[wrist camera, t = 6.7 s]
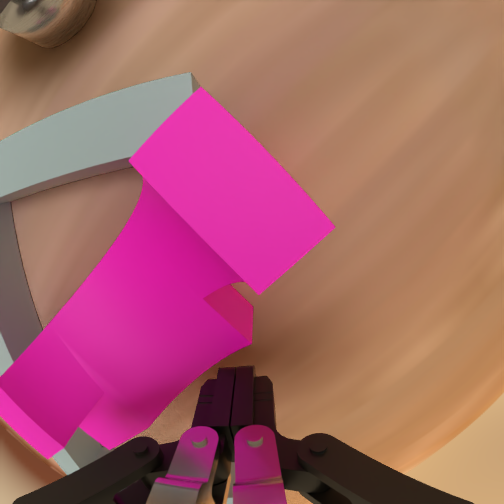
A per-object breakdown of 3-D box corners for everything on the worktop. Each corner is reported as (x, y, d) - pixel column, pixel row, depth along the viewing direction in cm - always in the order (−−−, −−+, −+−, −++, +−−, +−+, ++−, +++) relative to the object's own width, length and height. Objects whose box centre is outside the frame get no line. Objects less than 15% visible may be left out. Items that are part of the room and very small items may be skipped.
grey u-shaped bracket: (207, 97, 12) (190, 72, 8) (263, 474, 17) (263, 511, 14) (-15, 171, 12) (-54, 176, 9) (90, 458, 18) (77, 485, 15)
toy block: (133, 400, 16) (90, 490, 9) (60, 332, 15) (-12, 402, 8) (328, 239, 13) (400, 309, 6) (232, 136, 12) (200, 86, 5)
